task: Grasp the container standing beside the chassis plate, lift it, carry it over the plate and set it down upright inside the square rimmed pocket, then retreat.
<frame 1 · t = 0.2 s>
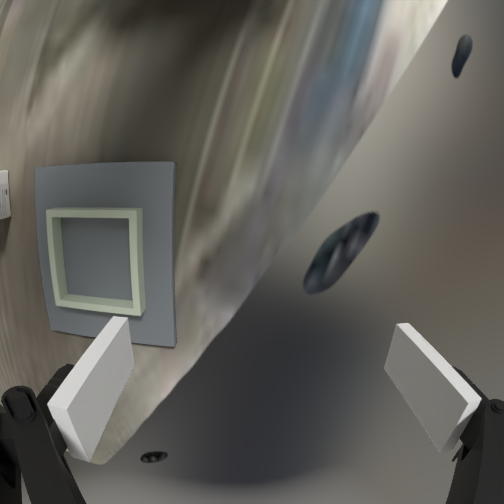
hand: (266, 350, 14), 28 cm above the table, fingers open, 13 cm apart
chassis: (101, 254, 41), on the table
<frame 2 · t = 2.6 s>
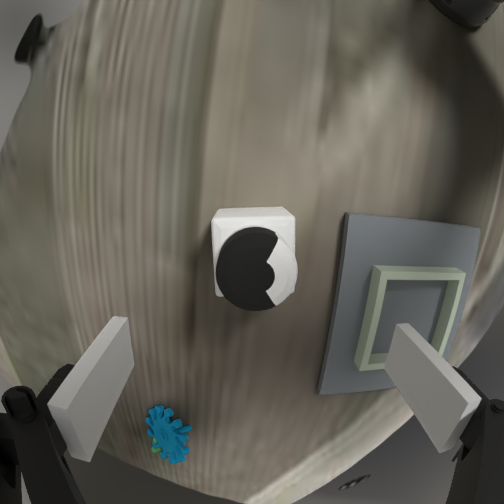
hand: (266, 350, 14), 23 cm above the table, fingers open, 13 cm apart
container: (251, 239, 37), on the table
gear: (169, 419, 44), on the table
chassis: (403, 310, 40), on the table
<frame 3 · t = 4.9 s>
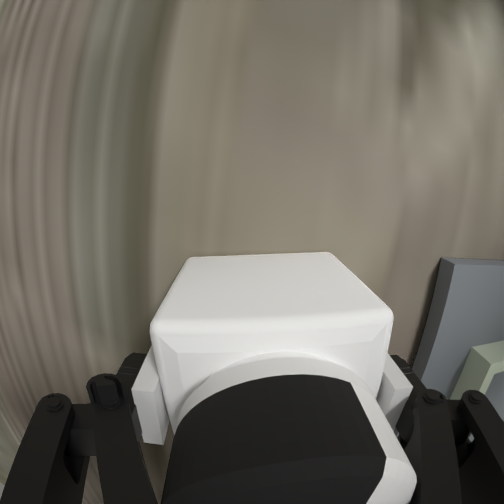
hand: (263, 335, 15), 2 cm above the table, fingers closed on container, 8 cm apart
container: (261, 318, 17), on the table, touching gripper
chassis: (484, 393, 20), on the table
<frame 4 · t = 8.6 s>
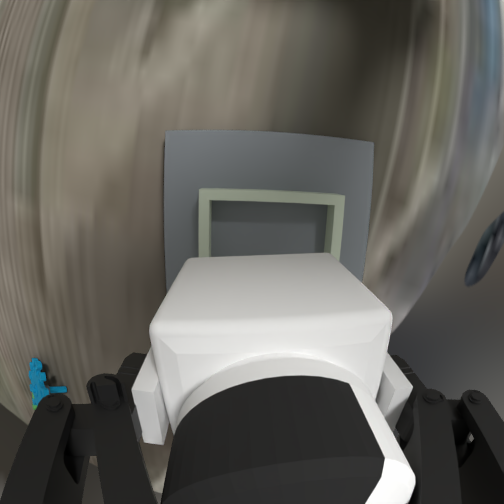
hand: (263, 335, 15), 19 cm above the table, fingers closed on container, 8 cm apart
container: (260, 318, 17), point 17 cm above the table, touching gripper
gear: (49, 377, 38), on the table
chassis: (267, 253, 34), on the table
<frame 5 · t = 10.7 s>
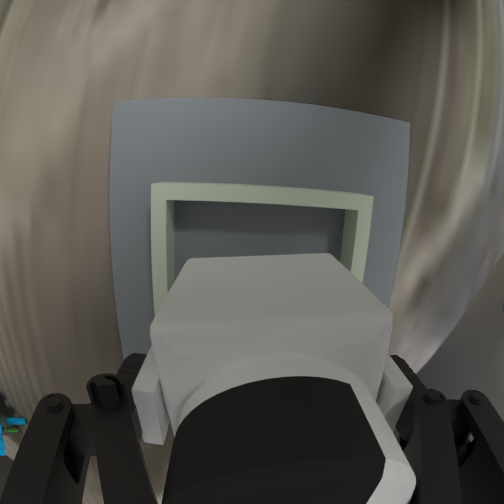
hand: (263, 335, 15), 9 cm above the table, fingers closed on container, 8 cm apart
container: (261, 319, 17), point 7 cm above the table, touching gripper
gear: (7, 405, 28), on the table
chassis: (255, 276, 24), on the table
when the fingers open (5 cm above the table, at t = 12.3 s): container drops 2 cm, resting on chassis.
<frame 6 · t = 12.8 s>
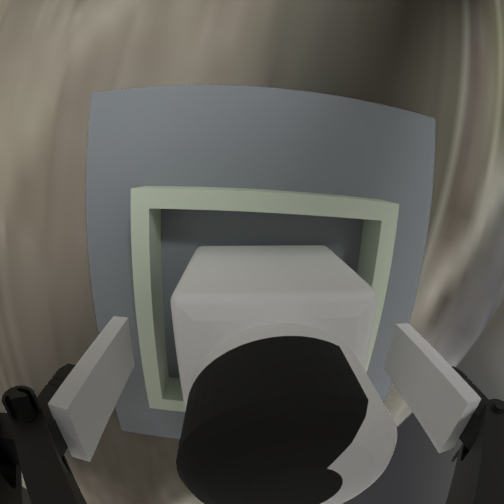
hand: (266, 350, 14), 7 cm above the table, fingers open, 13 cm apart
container: (261, 304, 19), point 1 cm above the table, touching chassis
chassis: (257, 296, 20), on the table
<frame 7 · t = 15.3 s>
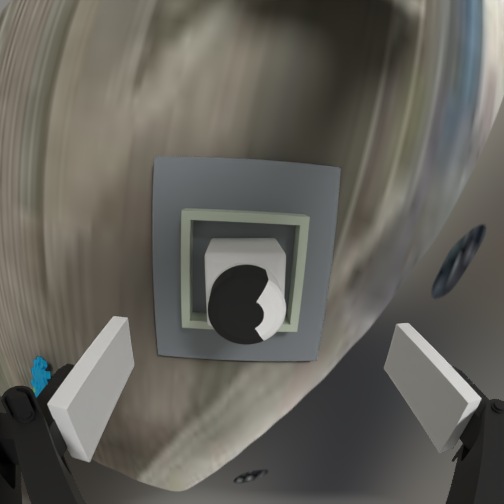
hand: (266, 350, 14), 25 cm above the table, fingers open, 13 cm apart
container: (243, 268, 38), point 1 cm above the table, touching chassis
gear: (50, 375, 42), on the table
chassis: (242, 265, 39), on the table
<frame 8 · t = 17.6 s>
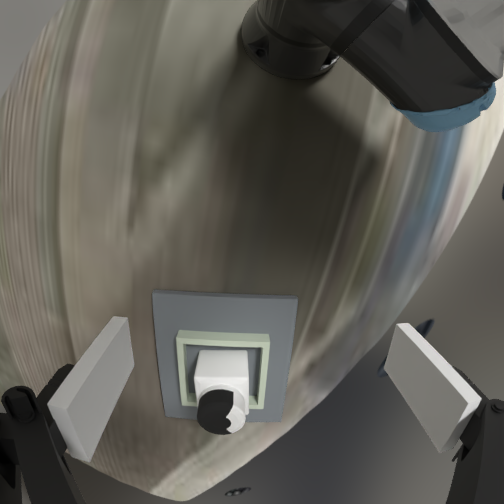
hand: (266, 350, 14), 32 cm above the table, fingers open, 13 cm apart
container: (224, 367, 49), point 1 cm above the table, touching chassis
chassis: (223, 363, 50), on the table
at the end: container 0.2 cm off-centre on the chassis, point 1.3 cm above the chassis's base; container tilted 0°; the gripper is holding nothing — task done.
